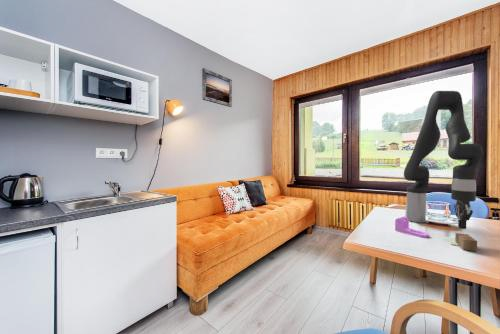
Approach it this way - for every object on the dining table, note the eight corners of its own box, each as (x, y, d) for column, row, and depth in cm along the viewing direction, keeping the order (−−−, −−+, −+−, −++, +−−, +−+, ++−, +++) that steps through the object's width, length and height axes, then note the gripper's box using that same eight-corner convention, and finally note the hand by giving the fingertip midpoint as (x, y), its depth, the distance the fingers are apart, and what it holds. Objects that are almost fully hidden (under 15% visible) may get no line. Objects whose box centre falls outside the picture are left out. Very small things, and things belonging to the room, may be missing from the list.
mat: (450, 244, 90) (451, 243, 90) (443, 237, 99) (443, 236, 99) (480, 249, 86) (480, 248, 86) (470, 240, 94) (470, 240, 94)
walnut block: (455, 241, 93) (463, 248, 85) (455, 232, 92) (463, 239, 85) (467, 243, 91) (476, 251, 83) (467, 234, 90) (477, 241, 83)
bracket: (395, 230, 108) (395, 217, 108) (400, 228, 111) (400, 215, 111) (425, 238, 97) (426, 224, 97) (430, 236, 100) (431, 222, 100)
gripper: (482, 192, 84) (481, 234, 84) (468, 188, 95) (467, 225, 96) (457, 190, 87) (455, 231, 88) (447, 187, 99) (445, 223, 99)
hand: (461, 228), depth 92 cm, fingers closed
